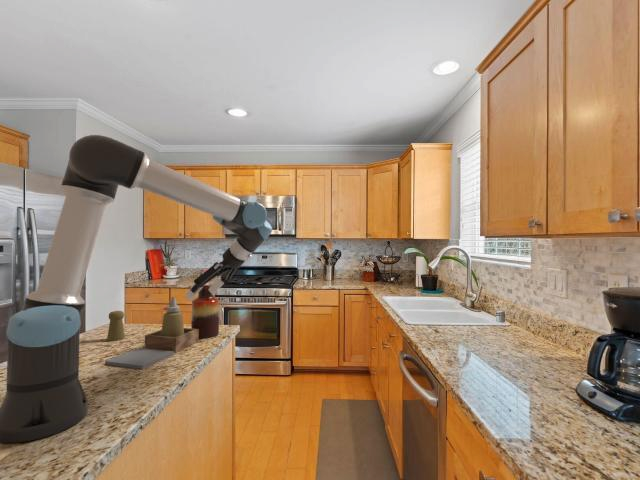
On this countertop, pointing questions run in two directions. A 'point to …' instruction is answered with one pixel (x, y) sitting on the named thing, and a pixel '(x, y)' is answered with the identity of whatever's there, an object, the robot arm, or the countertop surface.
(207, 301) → the vase
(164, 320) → the squeeze bottle
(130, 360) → the slate mat
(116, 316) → the cork
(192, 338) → the bottle holder
